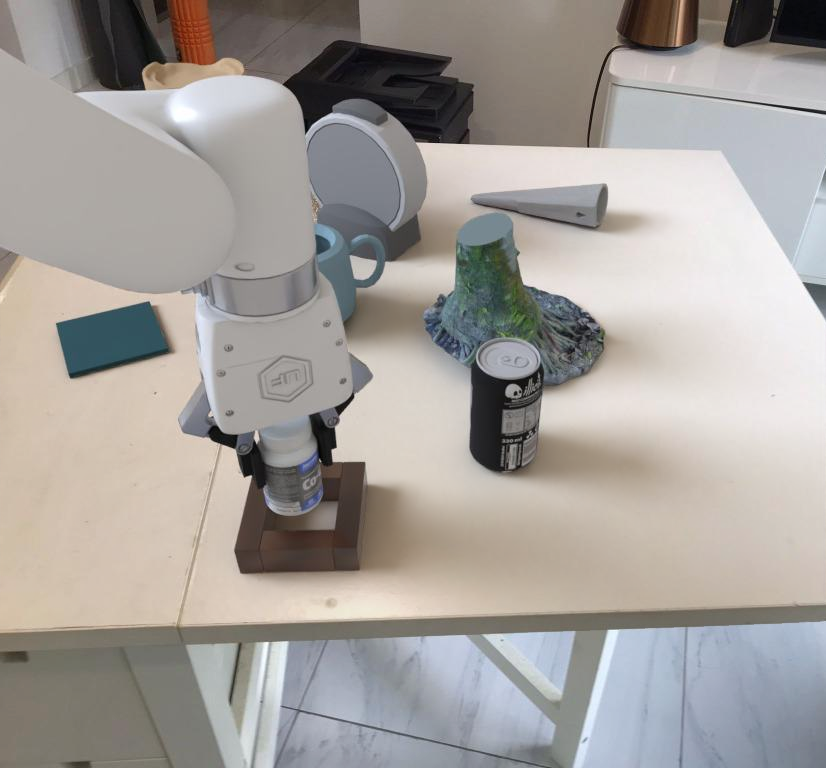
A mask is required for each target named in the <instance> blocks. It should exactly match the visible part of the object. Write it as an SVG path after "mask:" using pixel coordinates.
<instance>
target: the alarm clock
mask: <svg viewBox="0 0 826 768" xmlns="http://www.w3.org/2000/svg"><path fill="white" fill-rule="evenodd" d="M331 108H332V112H331V113H328V114H327V115H325V116H323V117H321V118H320V119H318V120H317V121H315V122H314V123H313V124H312V125H311V126H310V128H309V129H308V131H307V132H306V133H305V137H306V147H307V158H308V168H309V178H310V188H311V196H312V197H313V198H314V200H315V201H316V202H317V204H318V205H319V207H320V208H319V209H318V210H317V212H316V223H317V224H323V225H326V226H329V227H332V228H333V229H335V230H337V231H338V232H339V233H340V234H341V235H342V237H343V239H344V240H345V242H346V245H348V244H349V243H350V242H351V241H352V240H353V239H354V238H356V237H358V236H359V235H365V234H367V235H371V236H374V237H376V238H378V239H379V240H380V241H381V243H382V245H383V247H384V250H385V262H394V261H395V260H397V259H398V258H399V257H400V256H402V255H403V254H404V253H406V252H407V251H408V250H409V249H411V248H412V247H413V246H414V245H416V244H417V243H418V242H419V241H421V240H422V234H421V230H420V229H421V228H420V223H419V217H418V213H419V211H420V210H421V209H422V207H423V206H424V202H425V200H426V197H427V193H428V184H429V182H428V181H429V180H428V175H427V173H428V172H427V168H426V167H427V166H426V163H425V160H424V157H423V155H422V152H421V149H420V147H419V145H418V144H417V143H416V141H415V139H414V138H413V137H414V136H412V134H411V132H409V130H408V129H407V128H406V127H405V126H404V125H403V124H402V123H401V122H400V121H399V119H397V118H396V117H394V116H393V115H392V114H390V113H389V112H387V111H386V110H385V109H384V108H383V107H382V106H380V105H379V104H377V103H375V102H373V101H370V100H368V99H366V98H365V99H363V98H349V99H345V100H342V101H340V102H338V103H336V104H334V105H332V107H331ZM350 256H355V257H358V258H362V259H368V260H374V261H377V255H376V251H375V248H374V247H373V245H371V244H369V243H364V244H362V245H360V246H359V247H358V248H357V249H356V250H355V251H354V252H353V253H352V254H351V255H350Z"/></svg>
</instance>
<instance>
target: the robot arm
mask: <svg viewBox="0 0 826 768" xmlns="http://www.w3.org/2000/svg"><path fill="white" fill-rule="evenodd" d="M299 102H300V101H298V99H297V97H296V95H295V94H294V93H293V92H292V91H291V90H290V89H289V88H287V87H286V86H285V85H283V84H281V83H280V82H278V81H275V80H273V79H269V78H265V77H260V76H254V75H246V76H245V75H227V76H218V77H212V78H207V79H203V80H199V81H196V82H193V83H191V84H189V85H187V86H185V87H183V88H180V89H167V90H146V89H145V90H99V91H97V90H96V91H82V92H81V91H80V92H73V91H71V90H69V89H68V88H66V87H64V86H63V85H61V84H59V83H57V82H55V81H54V80H53V79H51V78H49V77H47V76H46V75H44V74H42V73H41V72H39V71H37V70H36V69H34V68H33V67H31V66H29V65H28V64H26V63H24V62H23V61H22V60H20V59H18V58H17V57H15V56H13V55H12V54H10V53H8V52H7V51H5V50H4V49H3V48H1V47H0V248H2V249H3V250H6V251H9V252H12V253H14V254H16V255H19V256H21V257H25V258H27V259H30V260H32V261H35V262H37V263H40V264H41V263H42V264H43V265H47V266H50V267H52V268H56V269H59V270H62V271H65V272H67V273H71V274H73V275H76V276H79V277H83V278H86V279H88V280H92V281H93V282H97V283H100V284H103V285H106V286H109V287H113V288H116V289H120V290H124V291H128V292H133V293H137V294H138V293H139V294H150V295H163V294H172V293H173V294H174V293H178V292H180V294H181V295H187V294H192V293H193V294H194V295H196V297H195V305H194V306H195V308H194V309H195V312H194V317H195V318H194V320H195V321H194V326H195V327H194V330H195V343H196V352H197V359H198V366H199V373H200V378H201V381H200V383H199V384H198V385H197V387H196V388H195V390H194V391H193V394H191V397H190V398H189V400H188V401H187V403H186V404H185V406H184V408H183V409H182V411H181V412H180V414H179V416H178V417H177V422H178V425H179V427H180V429H181V432H182V433H183V434H186V435H190V436H193V437H197V438H203V439H205V438H207V439H210V440H211V442H214V443H216V444H219V445H221V446H225V447H227V448H230V449H233V450H235V452H236V458H237V462H238V467H239V469H240V473H241V475H242V477H243V478H248V477H250V476H251V478H253V480H254V482H255V485H256V487H257V489H261V488H264V486H265V485H266V479H265V474H264V468H263V463H262V457H261V453H260V450H259V448H258V446H257V441H256V438H255V434H256V431H258V430H260V429H263V428H266V427H270V426H273V425H277V424H280V423H284V422H287V421H290V420H294V419H297V418H300V417H304V416H307V415H308V416H309V418H310V422H311V427H312V431H313V432H314V434H315V436H316V438H317V442H318V449H319V460H320V462H322V464H323V466H326V467H328V466H331V465H333V462H334V461H333V450H335V449H337V448H338V445H337V434H336V427H337V426H338V425H339V424H340V422H341V417H340V416H341V415H342V414H343V413H344V411H345V410H346V409H347V408H348V407H349V406H350V404H351V403H352V402H354V399H355V395H356V394H358V393H360V392H361V391H362V390H363V389H364V388H365V387H366V386H367V385H368V384H369V383H370V382H371V381H372V380H373V378H374V374H373V372H372V371H371V370H370V368H369V367H368V366H367V364H366V363H364V362H363V361H362V360H360V359H359V358H357V356H355V354H352V353H351V352H350V351H349V348H348V341H347V336H346V331H345V330H346V329H345V325H344V322H343V321H342V317H341V312H340V309H339V305H338V302H337V298H336V295H335V292H334V289H333V287H332V284H331V283H330V281H329V280H328V279H327V278H326V277H325V276H324V275H323V274H322V273H321V272H319V269H318V259H317V249H316V239H315V229H314V223H315V221H314V219H315V218H314V208H313V201H312V200H313V199H312V192H311V188H310V178H309V168H308V158H307V147H306V137H305V136H306V129H305V122H304V121H305V120H304V113H303V110H302V107H301V104H300V103H299ZM210 413H211V414H212V416H209V415H210Z"/></svg>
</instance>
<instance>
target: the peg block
mask: <svg viewBox="0 0 826 768" xmlns="http://www.w3.org/2000/svg"><path fill="white" fill-rule="evenodd" d="M320 468H321V477H322V485H323V495H322V498H321V500H320V502H321V501H337V508H336V517H335V523H334V524H335V525H334V529H297V530H296V529H293V530H292V529H291V530H290V529H289V530H274V527H275V523H276V516H277V513H275V512H274V511H272V510H271V509H270V508H269V506H268V505H267V503H266V500H265V495H264V489H263V488H261V489H257V487H256V485H255V482H254V480H253V478H252V477H251V479H250V483H249V487H248V490H247V495H246V499H245V503H244V507H243V512H242V516H241V520H240V524H239V528H238V532H237V536H236V540H235V544H234V549H233V552H234V555H235V559H236V563H237V567H238V570H239V573H240V574H253V573H254V574H256V573H259V574H261V573H300V572H301V573H302V572H335V571H336V572H337V571H338V572H339V571H360V569H361V559H362V549H363V548H362V547H363V537H364V527H365V515H366V504H367V493H368V475H367V473H368V472H367V464H366V461H333V465H331V466H328V467H326V466H323V464H322V462H321V461H320Z"/></svg>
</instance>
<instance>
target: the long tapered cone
mask: <svg viewBox="0 0 826 768" xmlns="http://www.w3.org/2000/svg"><path fill="white" fill-rule="evenodd" d="M470 201H471V202H473V203H475V204H478V205H482V206H487V207H495V208H499V209H505V210H510V211H515V212H518V213H521V214H526V215H531V216H536V217H541V218H546V219H551V220H556V221H561V222H567V223H571V224H572V223H573V224H577V225H582V226H586V227H592V228H597V227H600V226H601V225H602V223H603V222H604V219H605V216H606V212H607V209H608V208H607V207H608V204H609V203H608V202H609V187H608V184H607V183H593V184H591V183H590V184H579V185H569V186H568V185H567V186H557V187H543V188H529V189H518V190H517V189H516V190H503V191H493V192H481V193H475V194H471V196H470Z"/></svg>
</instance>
